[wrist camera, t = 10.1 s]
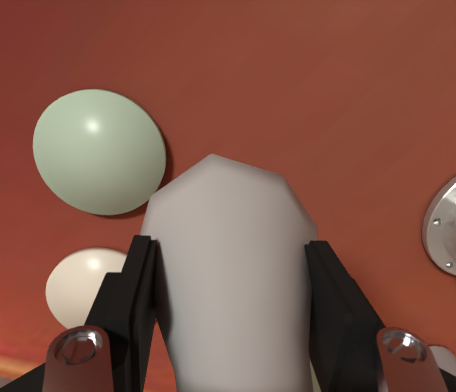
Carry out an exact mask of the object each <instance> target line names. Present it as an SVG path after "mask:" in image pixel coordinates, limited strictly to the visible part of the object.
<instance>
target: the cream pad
mask: <svg viewBox="0 0 456 392" xmlns="http://www.w3.org/2000/svg"><path fill="white" fill-rule="evenodd" d="M127 254H128V253H125V252H123V251H120V250H117V249H112V248H106V247H92V248H85V249H82V250H78V251H76V252H73V253H71V254H70V255H68V256H66V257H65V258H64V259H63V260H61V262H60V263H59V264H58V265H57V266H56V268H55V269H54V270H53V272H52V273H51V275H50V277H49V279H48V281H47V285H46V299H47V303H48V306H49V308H50V310H51V312H52V313H53V315H54V316H55V317H56V319H57V320H58V321H59V322H60V323H61V324H62V325H64V326H65V327H66V328H67V329H70V328H74V327H77V326H84V323H85V321H86V319H87V316H88V314H89V312H90V309H91V307H92V305H93V302H94V300H95V298H96V295H97V293H98V290H99V288H100V286H101V283H102V281H103V279H104V276H105V274H106V273H107V272H121V271H122V268H123V265H124V262H125V260H126V257H127Z"/></svg>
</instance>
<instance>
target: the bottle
mask: <svg viewBox="0 0 456 392" xmlns="http://www.w3.org/2000/svg"><path fill="white" fill-rule="evenodd" d="M428 346H429V348H430V349H431V351H432V353H433V355H434V358H435V360H436V362H437V365H438V367H439V368H441V369H443V370H445V371H447V372H449V373H450V374H452V375H454V376H456V357H455V356H454V354H453V353H452V352H451V351H450V350H449V349H448V348H446V347H444V346H440V345H428Z"/></svg>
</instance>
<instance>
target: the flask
mask: <svg viewBox="0 0 456 392" xmlns="http://www.w3.org/2000/svg"><path fill="white" fill-rule="evenodd" d="M140 235H149V236H151V240H157V255H156V271H155V287H154V302H153V309H154V312H155V315H156V318H157V321H158V324H159V327H160V330H161V333H162V336H163V339H164V342H165V345H166V348H167V351H168V354H169V357H170V360H171V363H172V366H173V369H174V372H175V380H176V387H177V392H314V390H313V382H312V374H311V367H310V359H309V351H308V347H309V331H310V314H311V298H312V284H311V279H310V274H309V269H308V264H307V258H306V253H305V248H304V245H305V244H309V242H310V241H311V240H314V241H317V239H318V227H317V226H316V224H315V223H314V221H313V220H312V218H311V217H310V215H309V214H308V212H307V211H306V209H305V208H304V206H303V205H302V203H301V202H300V200H299V199H298V197H297V196H296V194H295V193H294V191H293V190H292V188H291V187H290V185H289V184H288V182H287V181H286V179H285V178H284V176H283V175H280V174H277V173H274V172H270V171H267V170H264V169H260V168H257V167H254V166H251V165H247V164H244V163H241V162H237V161H234V160H231V159H227V158H224V157H221V156H217V155H214V154H210V155H209V156H207V157H206V158H204V159H203V160H201V161H200V162H199V163H197V164H196V165H194V166H193V167H191V168H190V169H189V170H187V171H186V172H184V173H183V174H181V175H180V176H179V177H177V178H176V179H174V180H173V181H171V182H170V183H169V184H167V185H166V186H164V187H163V188H161V189H160V190H159V191H157V192H156V193H154V194H153V195H151V196H150V199H149V203H148V206H147V210H146V214H145V218H144V221H143V225H142V229H141V232H140Z"/></svg>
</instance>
